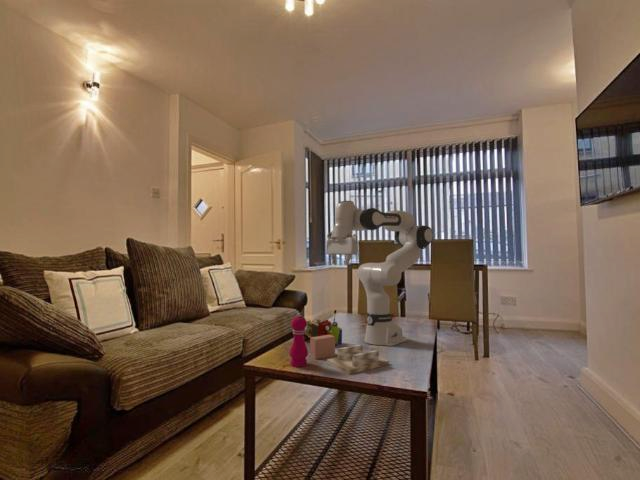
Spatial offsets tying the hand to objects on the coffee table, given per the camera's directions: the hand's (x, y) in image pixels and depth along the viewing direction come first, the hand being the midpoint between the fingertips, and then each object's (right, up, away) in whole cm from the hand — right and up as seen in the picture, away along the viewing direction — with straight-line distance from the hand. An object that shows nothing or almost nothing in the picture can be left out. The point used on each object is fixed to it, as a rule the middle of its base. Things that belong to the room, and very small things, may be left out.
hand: (340, 264), depth 150 cm
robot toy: (-8, -39, +8) cm, 41 cm away
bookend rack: (+6, -38, -22) cm, 44 cm away
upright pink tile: (-8, -38, -12) cm, 41 cm away
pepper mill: (-18, -38, -23) cm, 47 cm away
